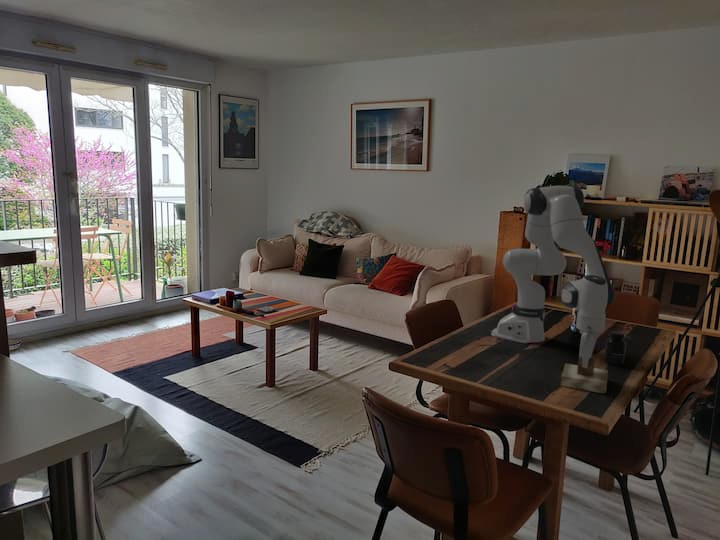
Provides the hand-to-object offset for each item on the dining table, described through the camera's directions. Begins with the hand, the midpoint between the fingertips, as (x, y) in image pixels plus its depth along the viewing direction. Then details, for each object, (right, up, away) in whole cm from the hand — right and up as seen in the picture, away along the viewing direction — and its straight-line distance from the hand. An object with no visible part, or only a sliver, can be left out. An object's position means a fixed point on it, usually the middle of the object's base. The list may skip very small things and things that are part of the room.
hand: (586, 362), depth 187 cm
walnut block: (0, -4, +1) cm, 4 cm away
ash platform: (0, -8, +1) cm, 8 cm away
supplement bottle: (+20, -4, +22) cm, 30 cm away
